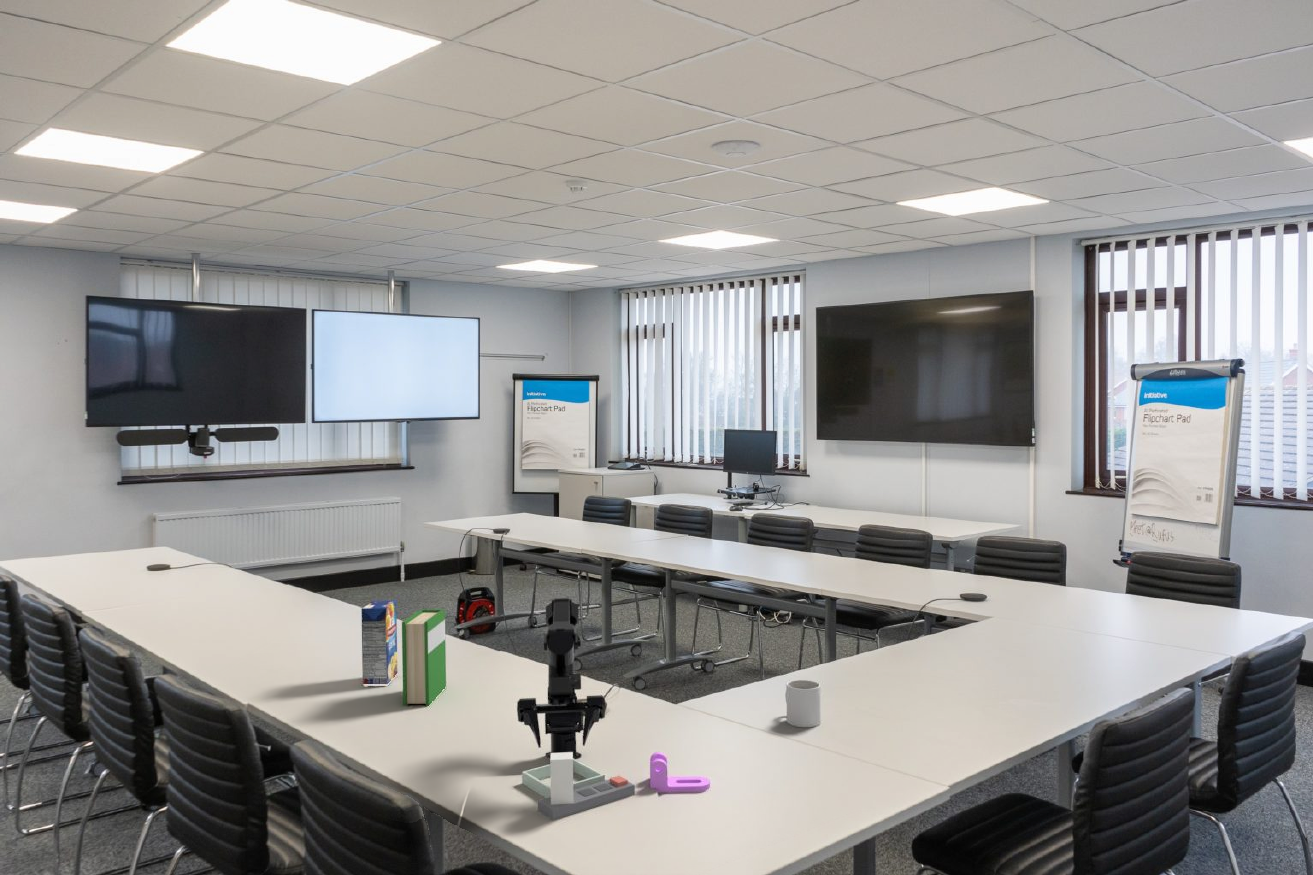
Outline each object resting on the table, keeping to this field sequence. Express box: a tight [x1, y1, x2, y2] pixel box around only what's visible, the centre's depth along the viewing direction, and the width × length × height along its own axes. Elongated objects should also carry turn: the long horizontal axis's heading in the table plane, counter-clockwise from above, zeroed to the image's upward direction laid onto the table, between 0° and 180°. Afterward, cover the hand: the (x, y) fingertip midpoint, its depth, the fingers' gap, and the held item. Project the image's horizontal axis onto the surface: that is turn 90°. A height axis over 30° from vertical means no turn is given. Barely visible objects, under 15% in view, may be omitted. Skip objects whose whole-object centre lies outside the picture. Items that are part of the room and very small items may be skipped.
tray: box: [521, 758, 606, 798], centre depth 200 cm, size 13×13×4 cm
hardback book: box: [401, 608, 447, 707], centre depth 269 cm, size 18×7×24 cm, turn 177°
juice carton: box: [361, 600, 398, 685], centre depth 286 cm, size 12×8×24 cm, turn 1°
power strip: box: [537, 775, 636, 821], centre depth 190 cm, size 20×6×4 cm, turn 127°
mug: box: [784, 679, 822, 728], centre depth 243 cm, size 11×10×10 cm
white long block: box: [549, 752, 574, 805], centre depth 187 cm, size 4×4×11 cm
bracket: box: [649, 751, 711, 793], centre depth 200 cm, size 13×6×7 cm, turn 90°
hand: (561, 745), depth 192 cm, fingers open, 9 cm apart
